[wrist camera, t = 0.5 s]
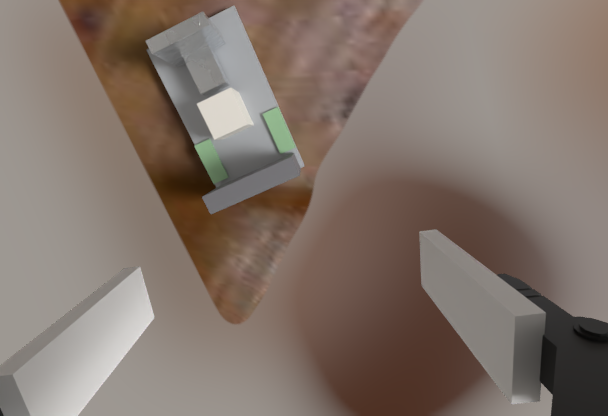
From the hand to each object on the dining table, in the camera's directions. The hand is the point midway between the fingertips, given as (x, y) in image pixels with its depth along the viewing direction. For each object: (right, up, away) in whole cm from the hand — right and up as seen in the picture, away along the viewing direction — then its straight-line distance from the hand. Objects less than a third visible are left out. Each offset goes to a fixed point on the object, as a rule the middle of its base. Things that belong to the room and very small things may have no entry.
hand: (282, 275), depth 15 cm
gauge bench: (-8, +15, +23) cm, 28 cm away
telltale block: (-7, +14, +22) cm, 27 cm away
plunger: (-10, +19, +20) cm, 29 cm away
